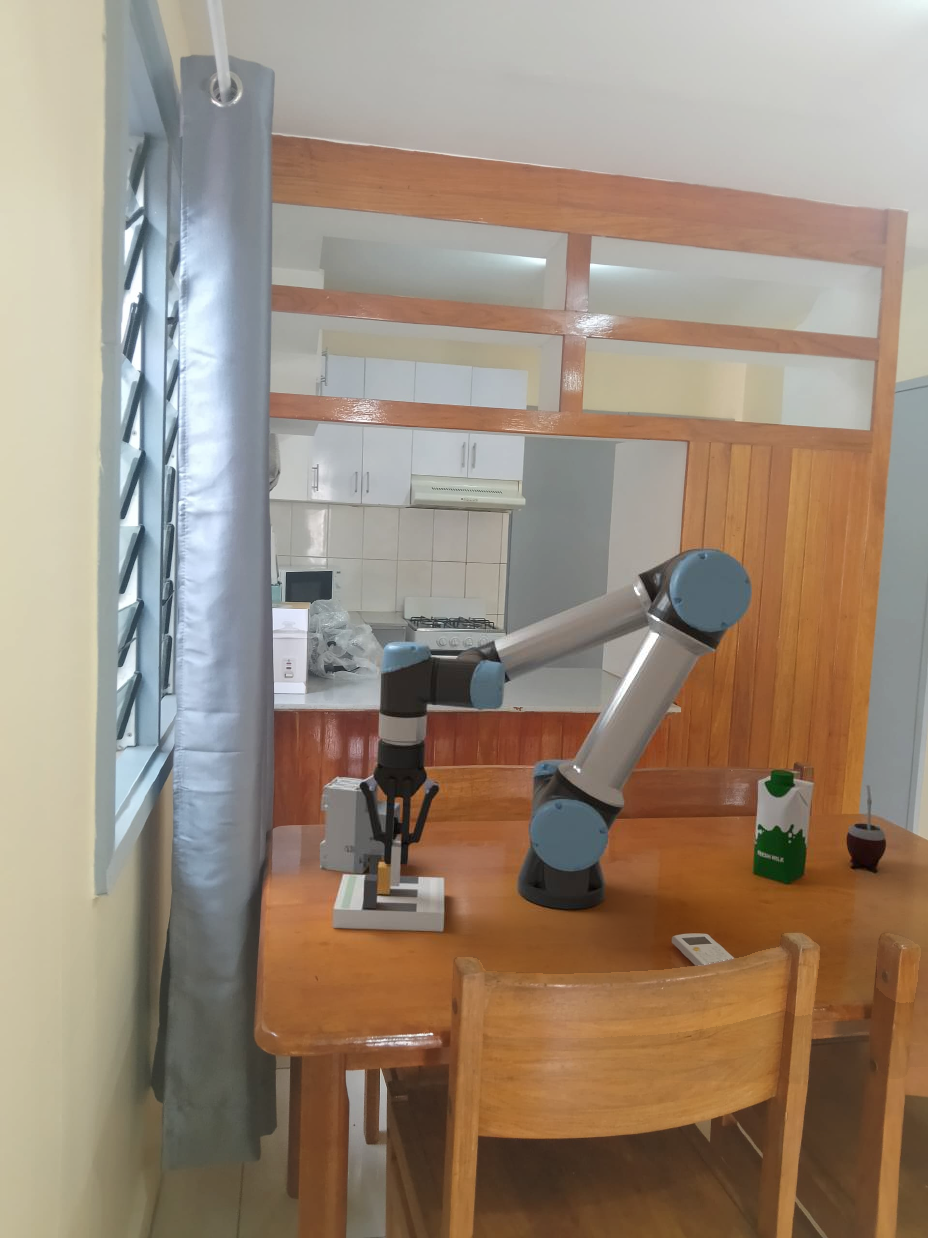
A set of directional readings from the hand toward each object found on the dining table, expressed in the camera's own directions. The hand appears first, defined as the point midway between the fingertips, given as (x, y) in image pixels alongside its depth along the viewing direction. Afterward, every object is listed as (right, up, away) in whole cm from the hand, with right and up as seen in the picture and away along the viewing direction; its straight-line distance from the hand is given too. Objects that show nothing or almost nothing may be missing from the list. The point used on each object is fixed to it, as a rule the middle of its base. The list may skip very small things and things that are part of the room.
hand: (394, 883), depth 144 cm
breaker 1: (-4, -1, +5) cm, 7 cm away
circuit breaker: (-7, -3, +19) cm, 21 cm away
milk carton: (+71, -6, +24) cm, 75 cm away
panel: (-1, -5, 0) cm, 5 cm away
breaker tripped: (-2, -1, 0) cm, 2 cm away
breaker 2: (-3, -2, -6) cm, 7 cm away
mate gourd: (+89, -6, +31) cm, 95 cm away
